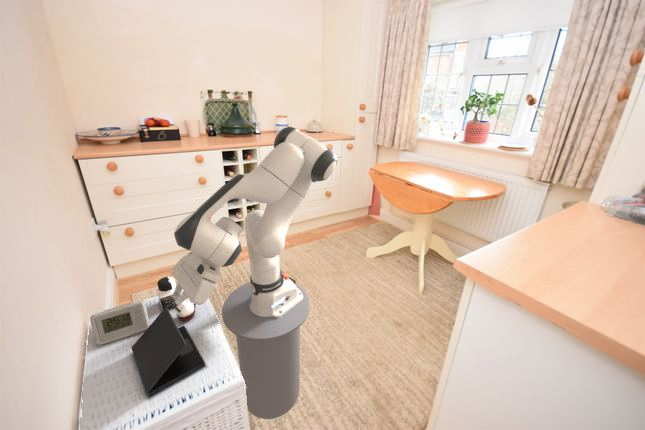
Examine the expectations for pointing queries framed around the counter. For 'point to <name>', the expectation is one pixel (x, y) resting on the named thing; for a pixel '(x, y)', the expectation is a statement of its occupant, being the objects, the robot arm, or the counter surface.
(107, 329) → the digital clock
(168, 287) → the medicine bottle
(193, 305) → the cupcake
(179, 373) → the laptop
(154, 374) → the laptop screen
